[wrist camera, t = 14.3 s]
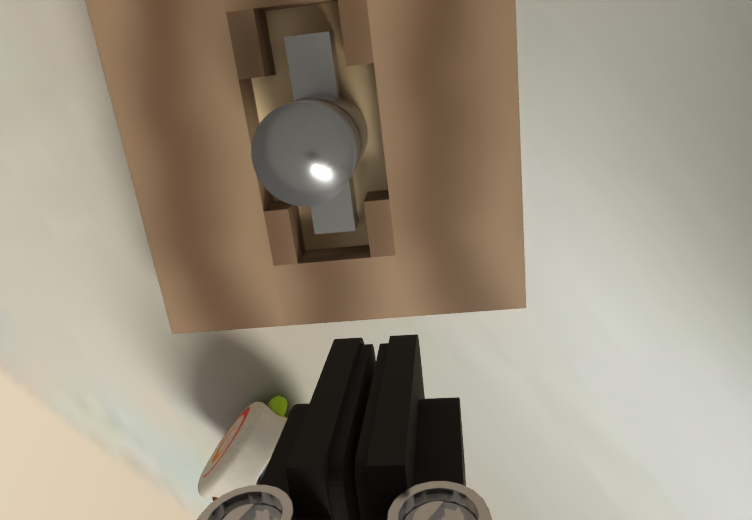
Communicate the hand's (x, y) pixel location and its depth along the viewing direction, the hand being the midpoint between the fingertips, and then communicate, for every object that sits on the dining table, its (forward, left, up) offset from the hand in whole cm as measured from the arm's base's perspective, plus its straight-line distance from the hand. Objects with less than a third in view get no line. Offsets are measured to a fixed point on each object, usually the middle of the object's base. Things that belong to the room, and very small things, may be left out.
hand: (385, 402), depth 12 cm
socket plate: (+4, -3, -19) cm, 19 cm away
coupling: (+4, -3, -18) cm, 19 cm away
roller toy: (+10, +14, -19) cm, 25 cm away
